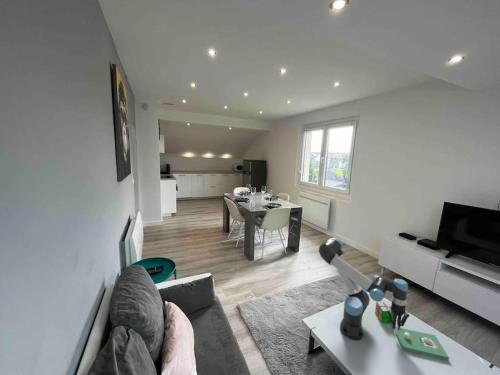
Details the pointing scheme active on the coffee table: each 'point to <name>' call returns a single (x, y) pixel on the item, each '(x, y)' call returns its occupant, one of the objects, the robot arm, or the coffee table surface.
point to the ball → (407, 335)
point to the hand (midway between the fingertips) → (395, 333)
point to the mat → (421, 344)
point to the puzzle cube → (383, 311)
